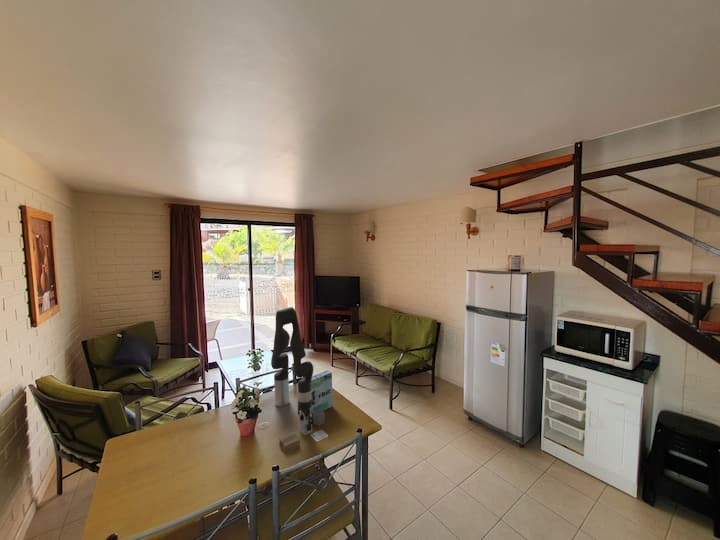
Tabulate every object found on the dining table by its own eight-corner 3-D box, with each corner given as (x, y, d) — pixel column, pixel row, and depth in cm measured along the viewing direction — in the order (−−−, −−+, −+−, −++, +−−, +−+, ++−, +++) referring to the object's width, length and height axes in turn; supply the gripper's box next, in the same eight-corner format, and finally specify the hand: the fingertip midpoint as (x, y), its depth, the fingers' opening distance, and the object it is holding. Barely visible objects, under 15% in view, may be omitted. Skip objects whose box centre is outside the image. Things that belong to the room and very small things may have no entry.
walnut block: (279, 445, 150) (279, 437, 149) (293, 439, 154) (293, 431, 154) (285, 453, 143) (284, 445, 143) (300, 447, 148) (299, 439, 148)
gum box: (328, 403, 189) (327, 370, 188) (333, 406, 186) (332, 372, 184) (303, 415, 176) (302, 379, 175) (307, 419, 172) (306, 382, 171)
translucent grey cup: (312, 423, 168) (312, 413, 168) (318, 419, 172) (318, 409, 172) (318, 426, 165) (318, 416, 165) (325, 422, 169) (324, 412, 169)
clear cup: (299, 431, 160) (299, 421, 160) (307, 428, 163) (307, 417, 163) (304, 435, 156) (303, 425, 156) (312, 432, 160) (311, 421, 159)
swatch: (310, 435, 157) (310, 434, 157) (321, 430, 161) (321, 429, 161) (316, 441, 151) (316, 440, 151) (328, 436, 155) (328, 435, 155)
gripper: (293, 395, 162) (293, 423, 163) (304, 405, 151) (305, 435, 151) (305, 391, 167) (305, 418, 167) (317, 401, 155) (317, 430, 156)
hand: (305, 426), depth 159 cm, fingers open, 8 cm apart
